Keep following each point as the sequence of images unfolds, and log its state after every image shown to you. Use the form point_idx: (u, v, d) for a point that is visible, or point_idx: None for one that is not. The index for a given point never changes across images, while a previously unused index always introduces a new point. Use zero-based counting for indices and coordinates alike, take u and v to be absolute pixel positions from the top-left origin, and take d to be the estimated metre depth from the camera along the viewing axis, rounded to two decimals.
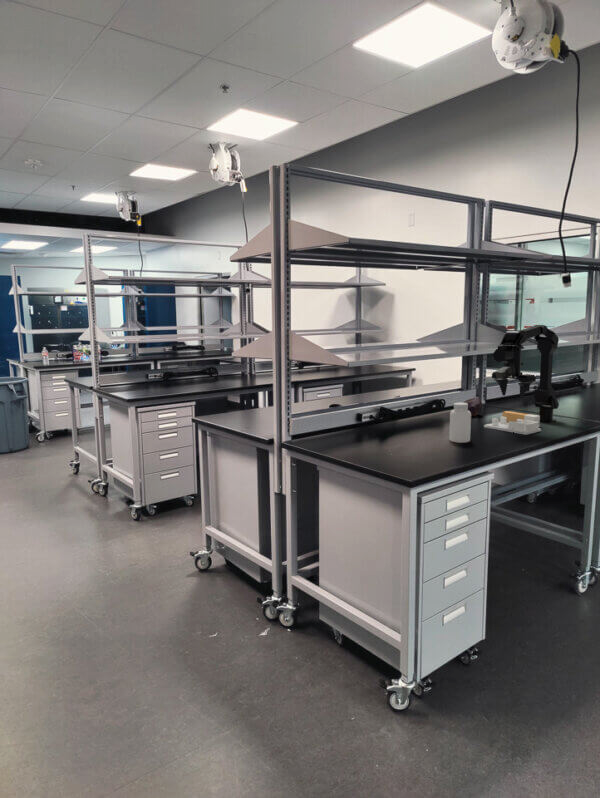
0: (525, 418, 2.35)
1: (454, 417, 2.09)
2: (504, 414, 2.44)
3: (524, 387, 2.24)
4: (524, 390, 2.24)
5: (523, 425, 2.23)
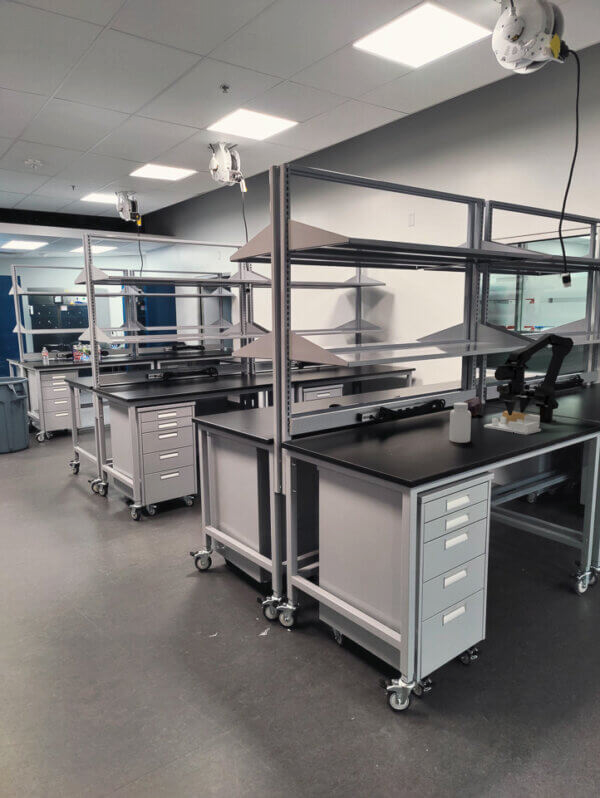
0: (525, 418, 2.35)
1: (454, 417, 2.09)
2: (504, 414, 2.44)
3: (509, 405, 2.37)
4: (509, 408, 2.37)
5: (523, 425, 2.23)
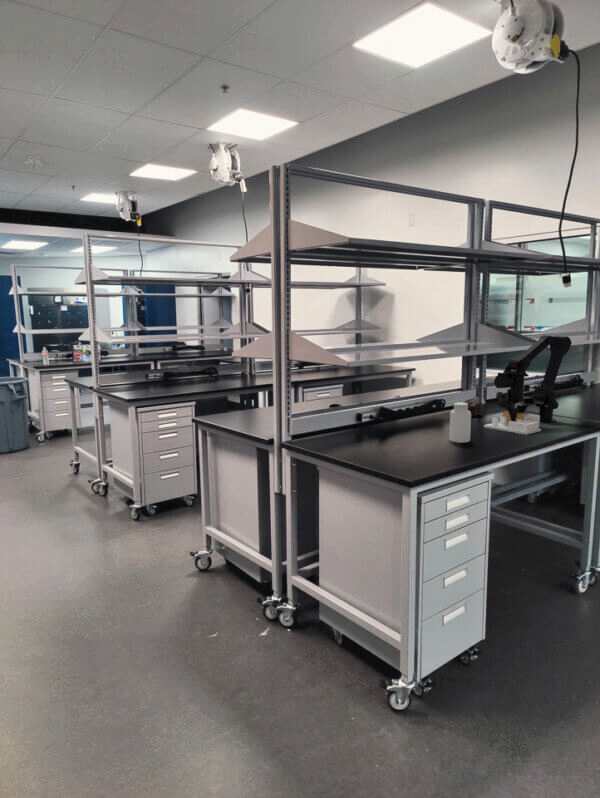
0: (525, 418, 2.35)
1: (454, 417, 2.09)
2: (504, 414, 2.44)
3: (512, 412, 2.39)
4: (512, 415, 2.39)
5: (523, 425, 2.23)
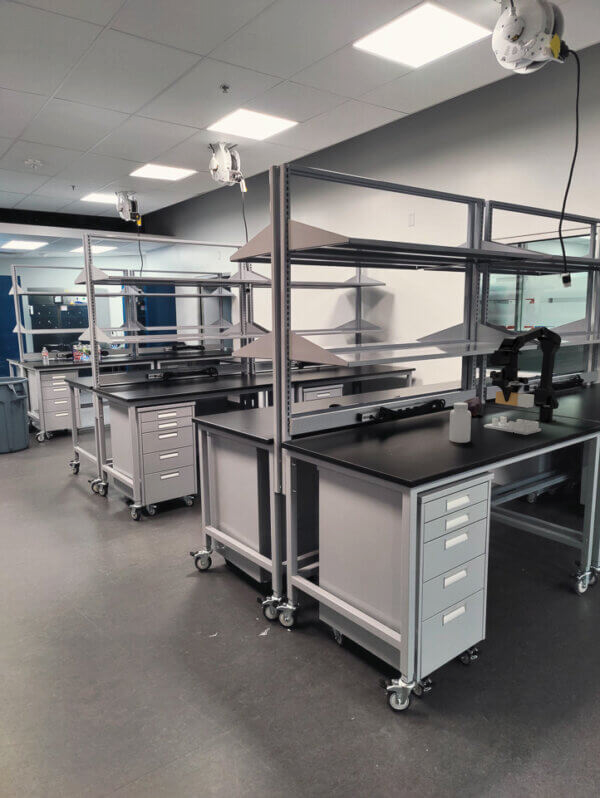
0: (519, 397, 2.27)
1: (454, 417, 2.09)
2: (497, 394, 2.35)
3: (506, 391, 2.30)
4: (506, 394, 2.31)
5: (523, 425, 2.23)
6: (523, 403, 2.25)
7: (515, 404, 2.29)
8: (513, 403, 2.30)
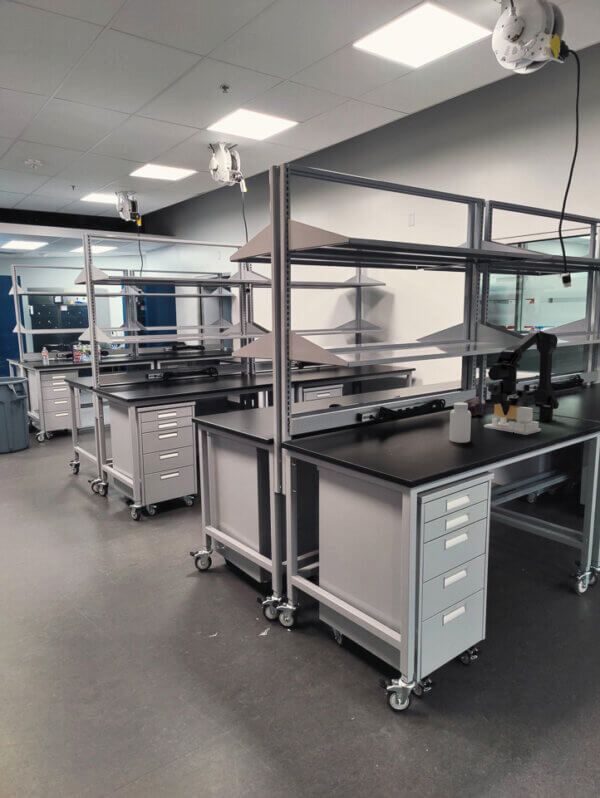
0: (518, 411, 2.26)
1: (454, 417, 2.09)
2: (496, 407, 2.35)
3: (504, 404, 2.30)
4: (505, 407, 2.30)
5: (523, 425, 2.23)
6: (522, 416, 2.24)
7: (514, 417, 2.28)
8: (512, 416, 2.29)
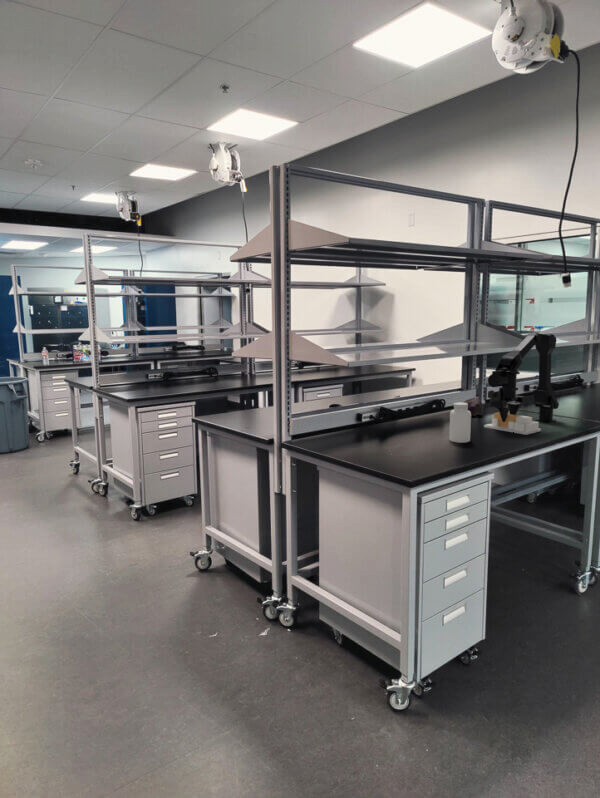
0: (517, 420, 2.27)
1: (454, 417, 2.09)
2: (495, 415, 2.35)
3: (503, 411, 2.29)
4: (503, 414, 2.30)
5: (523, 425, 2.23)
6: None
7: None
8: None
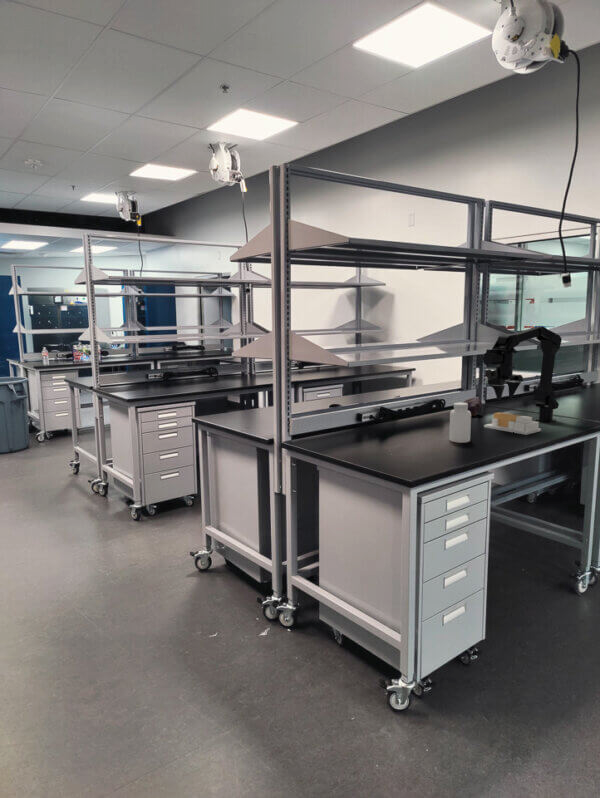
0: (517, 420, 2.27)
1: (454, 417, 2.09)
2: (495, 415, 2.35)
3: (498, 390, 2.32)
4: (498, 393, 2.32)
5: (523, 425, 2.23)
6: None
7: None
8: None
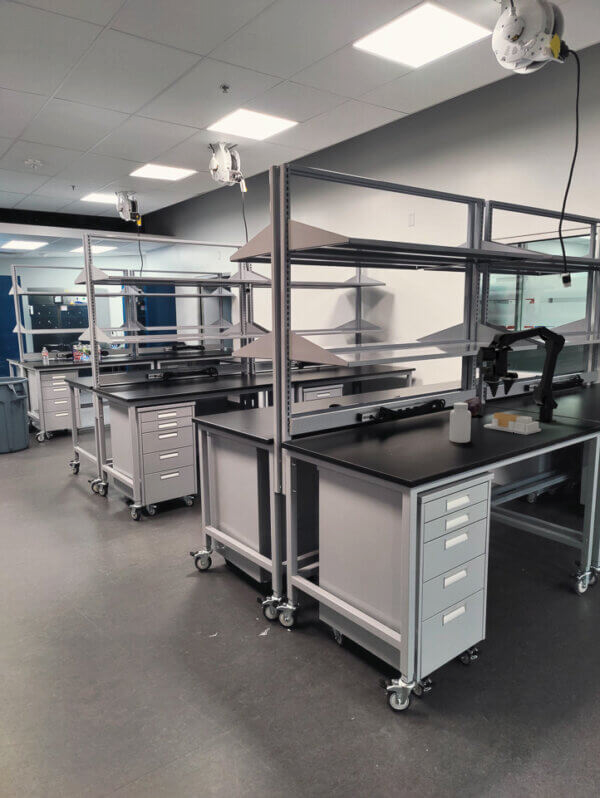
0: (517, 420, 2.27)
1: (454, 417, 2.09)
2: (495, 415, 2.35)
3: (493, 386, 2.38)
4: (493, 389, 2.38)
5: (523, 425, 2.23)
6: None
7: None
8: None
